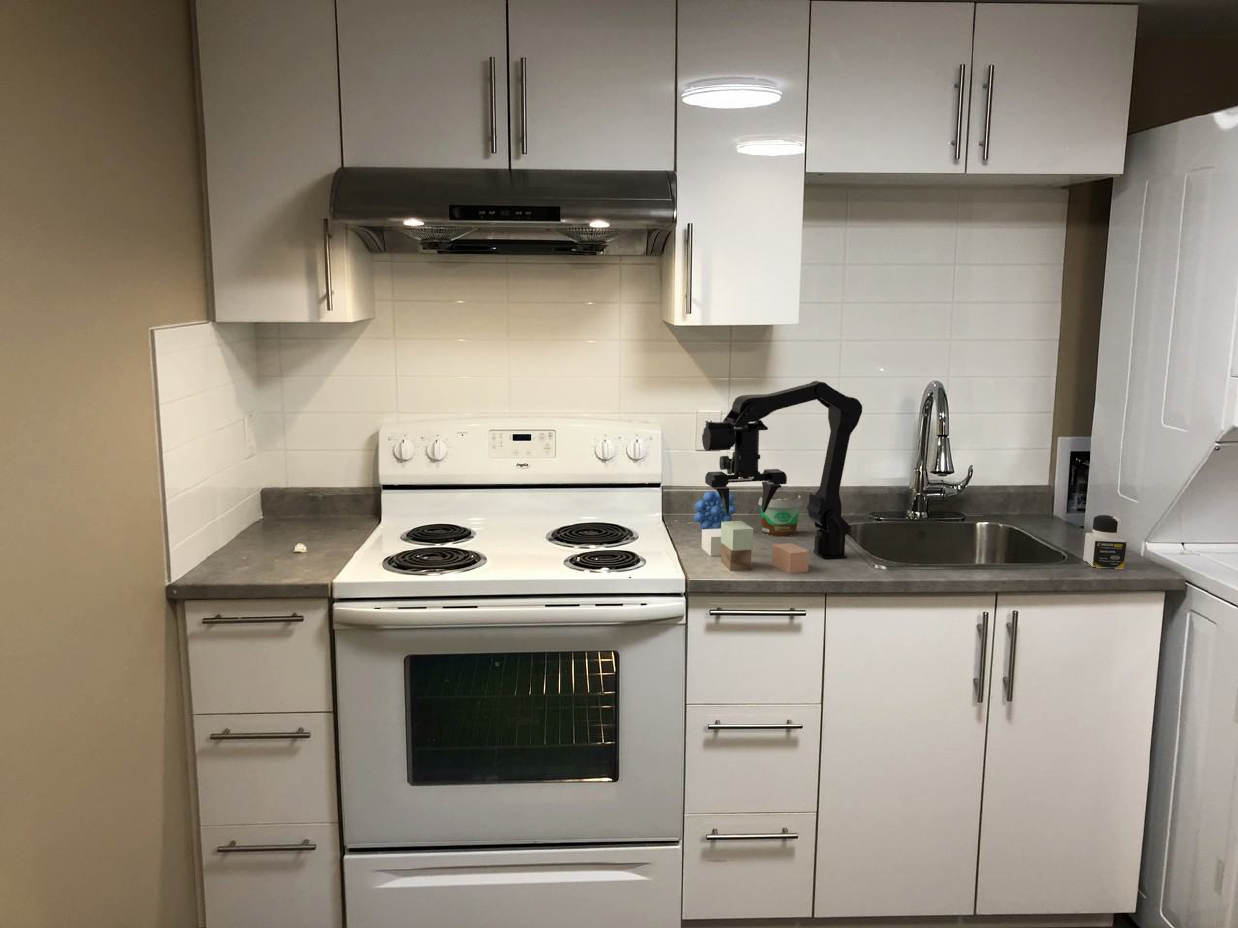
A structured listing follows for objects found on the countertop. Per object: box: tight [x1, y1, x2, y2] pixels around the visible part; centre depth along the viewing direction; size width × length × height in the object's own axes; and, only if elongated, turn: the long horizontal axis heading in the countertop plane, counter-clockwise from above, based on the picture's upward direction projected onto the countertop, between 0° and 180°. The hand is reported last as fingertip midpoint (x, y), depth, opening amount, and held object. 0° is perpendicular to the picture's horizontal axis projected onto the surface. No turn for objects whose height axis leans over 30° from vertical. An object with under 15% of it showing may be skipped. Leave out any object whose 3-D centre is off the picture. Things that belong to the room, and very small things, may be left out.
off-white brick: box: [701, 528, 722, 557], centre depth 245 cm, size 5×8×5 cm, turn 11°
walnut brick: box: [720, 543, 753, 572], centre depth 233 cm, size 5×8×5 cm, turn 10°
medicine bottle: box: [1083, 514, 1127, 570], centre depth 236 cm, size 7×7×12 cm
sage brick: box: [721, 520, 754, 551], centre depth 232 cm, size 5×8×5 cm, turn 14°
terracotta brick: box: [771, 542, 810, 574], centre depth 231 cm, size 5×8×5 cm, turn 22°
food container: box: [758, 495, 803, 537], centre depth 263 cm, size 12×6×10 cm, turn 105°
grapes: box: [693, 490, 738, 530], centre depth 266 cm, size 12×7×12 cm, turn 90°
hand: (745, 513), depth 236 cm, fingers open, 9 cm apart
